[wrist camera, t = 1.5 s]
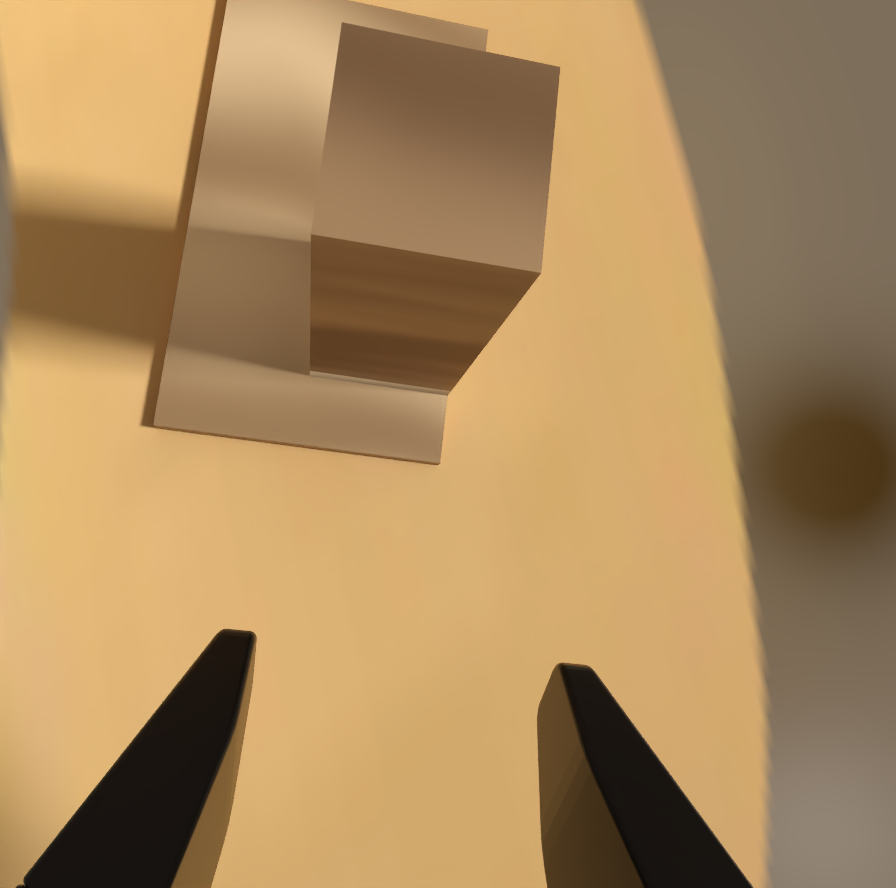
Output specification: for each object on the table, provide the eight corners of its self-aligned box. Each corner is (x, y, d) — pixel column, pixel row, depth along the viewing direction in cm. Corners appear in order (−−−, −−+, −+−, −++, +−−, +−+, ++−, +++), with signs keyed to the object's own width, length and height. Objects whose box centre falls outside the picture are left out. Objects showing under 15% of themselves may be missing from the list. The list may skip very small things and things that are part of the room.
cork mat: (437, 464, 24) (440, 463, 24) (155, 427, 23) (152, 425, 23) (485, 37, 27) (488, 29, 26) (232, -16, 26) (231, -25, 25)
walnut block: (447, 396, 24) (540, 272, 14) (310, 375, 24) (310, 234, 14) (461, 266, 25) (559, 67, 15) (328, 244, 24) (341, 21, 15)
